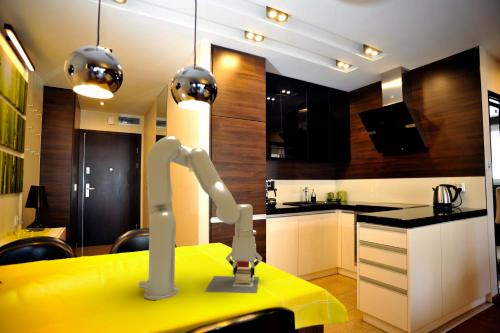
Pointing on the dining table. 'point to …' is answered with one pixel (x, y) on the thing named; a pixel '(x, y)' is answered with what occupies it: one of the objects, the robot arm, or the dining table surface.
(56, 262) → the dining table surface
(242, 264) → the paper cup
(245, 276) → the card box
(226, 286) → the mat
